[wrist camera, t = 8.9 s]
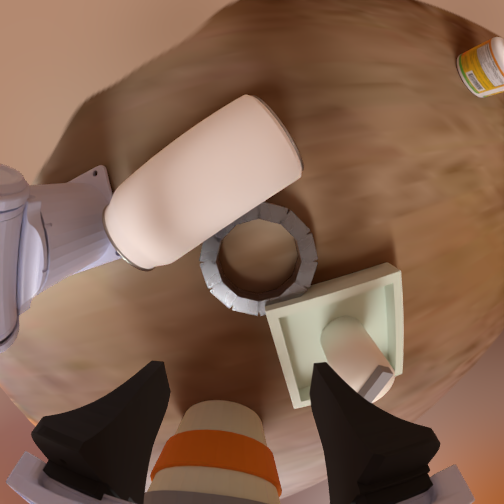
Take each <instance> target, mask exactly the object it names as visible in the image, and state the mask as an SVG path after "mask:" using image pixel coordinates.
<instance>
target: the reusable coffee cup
mask: <svg viewBox="0 0 504 504" xmlns="http://www.w3.org/2000/svg"><path fill="white" fill-rule="evenodd" d="M150 477H151V481H152V483H151V485H150V487H149V489H148V491H147V492H145V493H144V504H280V500H279V497H280V495H281V492H282V489H281V485H280V481H279V477H278V473H277V469H276V465H275V460H274V457H273V453H272V452H271V451H270V449H269V448H268V447H267V444H266V439H265V435H264V430H263V425H262V422H261V419H260V418H259V416H258V415H257V414H256V413H255V412H254V411H253V410H251V409H249V408H248V407H246V406H243V405H241V404H238V403H235V402H230V401H224V400H210V401H204V402H200V403H197V404H194V405H193V406H191V407H190V408H189V409H188V410H187V411H186V413H185V415H184V417H183V419H182V421H181V423H180V425H179V427H178V429H177V431H176V433H175V435H174V436H172V437H171V438H170V439H169V440H168V441H167V442H166V444H165V446H164V448H163V450H162V452H161V454H160V456H159V458H158V460H157V462H156V464H155V466H154V468H153V470H152V472H151V475H150Z"/></svg>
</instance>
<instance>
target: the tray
mask: <svg viewBox="0 0 504 504" xmlns="http://www.w3.org/2000/svg"><path fill="white" fill-rule="evenodd" d="M307 289H308V291H307V292H305V293H304V294H303V295H302V296H301V297H298V298H294V299H291V300H287V301H283V302H280V303H276V304H272V305H268V306H265V313H266V316H267V320H268V323H269V326H270V330H271V333H272V336H273V340H274V343H275V347H276V350H277V353H278V357H279V360H280V363H281V367H282V370H283V373H284V377H285V380H286V384H287V387H288V390H289V394H290V397H291V400H292V404H293V407H294V409H297V408H301V407H305V406H309V405H311V401H310V394H309V392H310V386H311V379H312V372H313V365H314V363H321V362H327V363H328V361H327V358H326V356H325V353H324V351H323V348H322V346H321V342H320V337H321V333H322V331H323V329H324V328H325V327H326V325H327V324H328V323H330V322H331V321H332V320H334V319H336V318H339V317H342V316H351V317H354V318H356V319H357V320H358V321H359V322H360V323H361V324H362V326H363V327H364V328H365V330H366V331H367V333H368V334H369V335H370V337H371V338H372V339H373V341H374V342H375V344H376V345H377V347H378V348H379V349H380V351H381V352H382V354H383V355H384V356H385V358H386V359H387V361H388V362H389V364H390V365H391V367H392V368H393V370H394V372H395V376H397V375H400V374H402V368H403V335H404V328H403V294H402V279H401V270H399V269H397V268H396V267H394V266H393V265H391V264H390V263H388V262H386V263H383V264H380V265H376V266H373V267H370V268H367V269H364V270H361V271H358V272H354V273H351V274H348V275H344V276H341V277H338V278H334V279H331V280H328V281H324V282H321V283H317V284H314V285H310V288H309V287H307ZM328 364H329V363H328Z"/></svg>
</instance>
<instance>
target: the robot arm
mask: <svg viewBox="0 0 504 504" xmlns="http://www.w3.org/2000/svg"><path fill="white" fill-rule="evenodd" d="M96 171H97V176H95V172H96ZM112 196H113V194H112V190H111V186H110V182H109V178H108V174H107V170H106V167H105V166H103V165H99V166H97V167H95V168H93V169H91V170H89V171H87V172H85V173H83V174H82V175H80V176H78V177H76V178H74V179H73V180H71V181H69V182H67V183H58V184H42V185H29V184H28V183H27V181H25V179H24V177H23V175H22V174H21V173H20V172H19V171H17V170H16V169H14V168H11V167H9V166H6V165H3V164H0V353H2V352H4V351H5V350H7V349H8V348H9V347H10V346H11V345H12V344H13V343H14V341H15V339H16V338H17V335H18V332H19V315H20V314H22V313H23V312H25V311H26V310H28V309H29V308H30V303H31V300H32V299H33V298H34V297H35V296H36V295H38V294H39V293H41V292H43V291H44V290H46V289H48V288H49V287H51V286H53V285H54V284H56V283H58V282H60V281H61V280H63V279H65V278H67V277H68V276H70V275H73V274H76V273H78V272H81V271H84V270H87V269H90V268H93V267H96V266H99V265H102V264H105V263H108V262H111V261H114V260H117V259H120V258H122V257H121V256H120V255H119V254H118V252H117V251H116V250H115V248H114V247H113V246H112V244H111V242H110V241H109V239H108V237H107V235H106V233H105V230H104V227H103V222H102V212H103V209H104V208H105V206H106V205H108V204H110V201H111V199H112ZM170 392H171V391H170V388H169V383H168V379H167V375H166V371H165V366H164V362H160V361H151V362H150V363H148V364H147V365H146V366H145V367H144V368H142V369H141V370H140V371H139V372H138V373H136V374H135V375H134V376H133V377H131V378H130V379H129V380H128V381H126V382H125V383H124V384H122V385H121V386H119V387H118V388H116V389H115V390H114V391H112V392H111V393H109V394H107V395H106V396H104V397H102V398H100V399H98V400H96V401H94V402H92V403H90V404H88V405H85V406H83V407H81V408H78V409H75V410H72V411H68V412H65V413H61V414H56V415H51V416H45V417H43V418H42V419H41V420H40V422H39V423H38V424H37V426H36V427H35V428H34V430H33V431H32V433H31V435H32V438H33V440H34V442H35V444H36V445H37V446H38V448H39V449H40V450H41V451H42V452H43V454H44V455H45V456H46V457H47V458H48V462H47V464H46V463H44V462H43V461H42V460H40V459H39V458H37V457H35V456H34V455H32V454H30V453H28V452H26V451H25V452H24V454H23V455H22V457H21V458H20V460H19V461H18V463H17V464H16V466H15V467H14V469H13V471H12V472H11V474H10V475H9V477H8V478H7V480H6V483H7V484H8V485H9V486H10V487H11V488H12V489H13V490H14V491H15V492H17V493H18V494H19V495H20V496H21V497H22V498H24V499H25V500H26V501H27V502H28V503H30V504H144V492H145V484H146V477H147V471H148V466H149V461H150V456H151V452H152V447H153V444H154V441H155V438H156V436H157V433H158V431H159V428H160V425H161V423H162V420H163V417H164V415H165V412H166V409H167V406H168V402H169V397H170ZM309 394H310V401H311V407H312V412H313V416H314V419H315V422H316V426H317V429H318V432H319V436H320V439H321V442H322V446H323V450H324V455H325V462H326V468H327V476H328V484H329V494H330V504H471V503H472V502H474V500H475V499H474V496H473V495H472V493H471V491H470V489H469V487H468V485H467V483H466V482H465V480H464V478H463V476H462V475H461V473H460V471H459V469H458V467H457V466H456V465H452V466H450V467H448V468H446V469H445V470H442V471H440V472H438V473H436V474H434V475H433V476H432V477H429V475H428V472H429V471H430V469H429V466H428V463H429V462H430V460H431V459H432V458H433V457H434V456H435V454H436V453H437V451H438V450H439V447H440V442H439V440H438V439H437V437H436V435H435V433H434V432H433V430H432V429H431V428H428V427H425V426H421V425H417V424H414V423H411V422H408V421H405V420H402V419H400V418H398V417H395V416H393V415H391V414H389V413H387V412H385V411H383V410H382V409H380V408H378V407H377V406H375V405H374V404H372V403H370V402H369V401H367V400H366V399H365V398H363V397H362V396H361V395H360V394H358V393H357V392H356V391H355V390H354V389H353V388H351V387H350V386H349V385H348V384H347V383H346V382H345V381H344V380H343V379H342V378H341V377H340V376H339V375H338V374H337V373H336V372H335V371H334V370H333V369H332V368H331V367H330V365H329V364H328V363H327V362H321V363H314V365H313V372H312V379H311V386H310V392H309Z"/></svg>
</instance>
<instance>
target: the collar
mask: <svg viewBox="0 0 504 504" xmlns="http://www.w3.org/2000/svg"><path fill="white" fill-rule="evenodd" d="M255 219H262V220H266V221H270V222H274V223H278V224H281V225H282V226H283V227H284V228H285V229H286V230H287V231H288V232H289V233H290V234H291V235H292V236H293V237H294V240H295V244H296V249H297V253H298V258H297V262H296V265H295V268H294V272H293V275H292V276H291V277H290V278H289V279H288V280H287V281H285V282H284V283H283V284H282V285H281V286H280V287H279V288H278V289H274V290H271V291H267V292H263V293H259V294H258V293H254V292H250V291H245V290H241V289H239V288H238V287H236V286H235V285H234V284H233V283H232V282H231V281H230V280H229V279H228V278H227V277H225V276H224V273H223V269H222V266H221V263H220V260H219V257H218V256H219V252H220V248H221V243H222V239H223V238H224V237H225V236H226V235H227V234H228V233H229V232H230V231H231V230H232V229H233V228H234V227H235V226H236V225H237V224H241V223H244V222H248V221H251V220H255ZM316 260H318V257H317V253H316V248H315V244H314V239H313V235H312V233H311V232H310V229H309V228H308V227H307V226H306V225H305V224H304V223H303V222H302V221H301V220H300V219H299V218H298V217H297V216H296V215H295V214H294V213H293V212H292V211H291V210H290V209H288V208H286V207H284V206H280V205H277V204H273V203H269V202H265V201H264V202H262V203H261V204H259V205H258V206H256V207H255V208H253V209H251V210H250V211H248V212H247V213H245V214H244V215H242V216H241V217H239V218H238V219H236V220H235V221H233V222H232V223H230V224H229V225H227V226H226V227H224V228H223V229H221V230H220V231H218V232H217V233H216V234H214V235H213V236H211V237H210V238H208V239H207V240H205V241H204V242H203V245H202V250H201V255H200V259H199V261H201V262H200V267H201V270H202V273H203V276H204V279H205V282H206V285H207V288H208V289H209V288H211V289H210V292H211V293H212V294H213V295H214V296H215V297H217V298H218V299H219V300H220V301H221V302H222V303H223V304H225V305H226V306H227V307H228V308H230V307H232V306H233V308H232V310H234V311H238V312H243V313H247V314H251V315H256V316H258V313H259V312H260V315H261V316H262V315H266V313H265V306H268V305H272V304H276V303H280V302H283V301H287V300H291V299H294V298H298V297H301V296H302V295H303V294H304V293H305V292H307V291H308V289H307V287H309V288H310V285H311V282H312V279H313V276H314V273H315V270H316V267H317V264H318V262H317V261H316Z"/></svg>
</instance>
